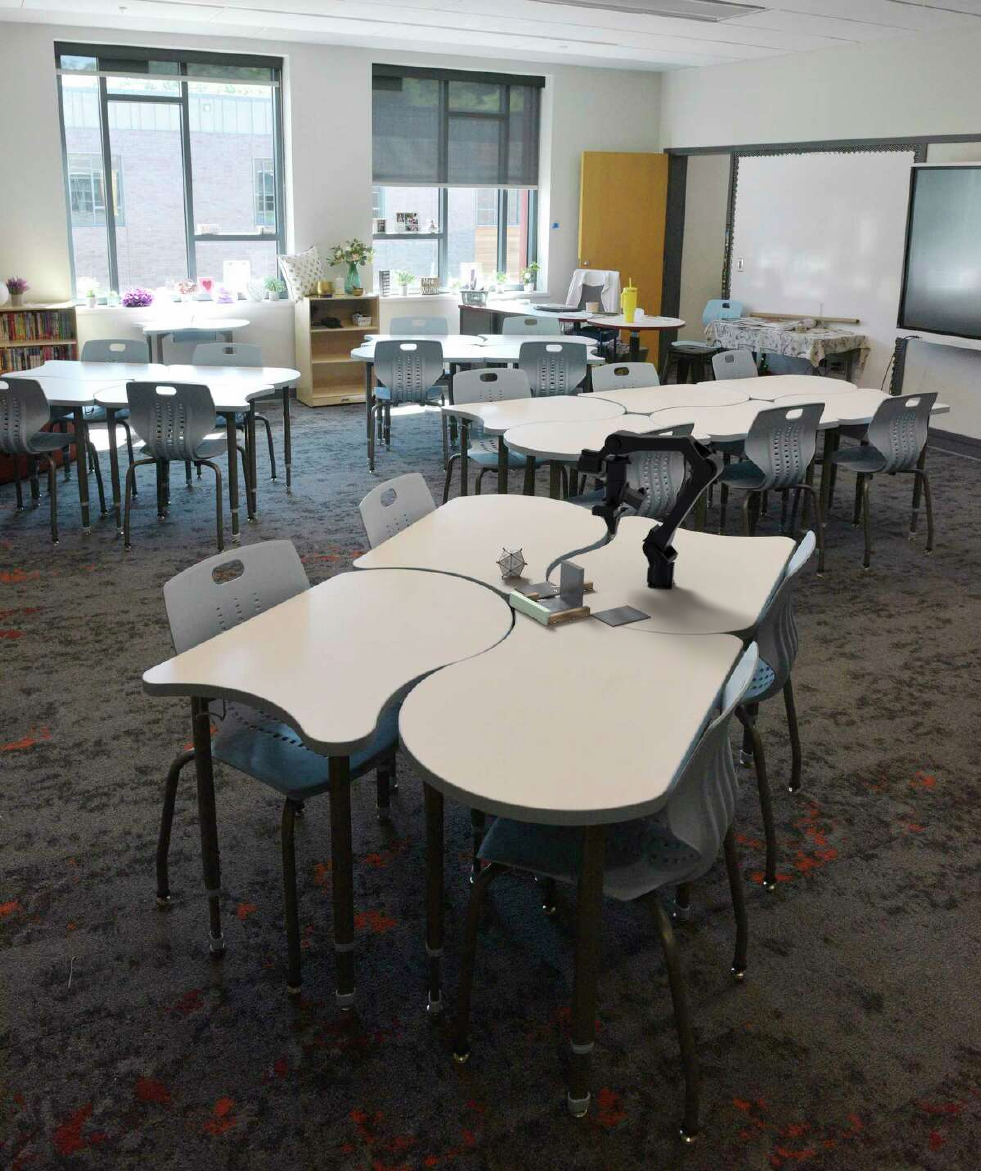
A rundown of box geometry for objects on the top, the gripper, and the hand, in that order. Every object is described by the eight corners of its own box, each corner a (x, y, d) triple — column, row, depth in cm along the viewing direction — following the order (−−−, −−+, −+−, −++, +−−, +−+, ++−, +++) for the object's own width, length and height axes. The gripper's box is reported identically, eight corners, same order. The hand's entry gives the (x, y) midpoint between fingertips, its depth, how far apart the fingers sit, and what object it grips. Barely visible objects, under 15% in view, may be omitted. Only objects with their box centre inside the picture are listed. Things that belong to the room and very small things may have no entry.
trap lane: (569, 577, 295) (569, 570, 294) (650, 617, 268) (651, 609, 267) (492, 594, 282) (492, 586, 282) (569, 637, 255) (569, 629, 255)
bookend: (564, 599, 279) (565, 559, 275) (582, 609, 273) (584, 568, 269) (525, 608, 273) (526, 567, 269) (543, 618, 267) (544, 576, 263)
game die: (516, 587, 298) (536, 557, 298) (514, 587, 289) (535, 556, 289) (489, 569, 299) (509, 539, 298) (486, 568, 290) (507, 537, 290)
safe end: (514, 604, 276) (514, 591, 275) (550, 624, 263) (551, 610, 262) (509, 605, 275) (509, 592, 274) (545, 625, 262) (546, 612, 261)
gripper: (632, 490, 276) (629, 548, 281) (656, 474, 292) (652, 529, 297) (592, 484, 281) (589, 541, 286) (617, 469, 296) (614, 524, 302)
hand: (613, 534), depth 293 cm, fingers closed
